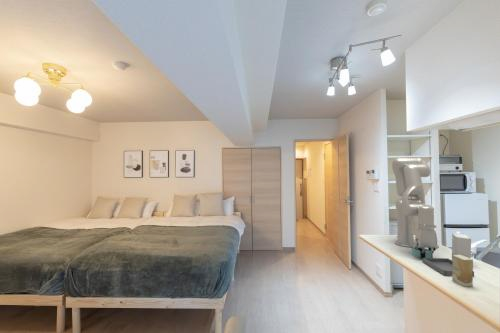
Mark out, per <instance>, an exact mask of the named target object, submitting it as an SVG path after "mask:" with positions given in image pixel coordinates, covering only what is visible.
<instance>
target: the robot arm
mask: <svg viewBox="0 0 500 333" xmlns="http://www.w3.org/2000/svg"><path fill="white" fill-rule="evenodd" d="M391 169H392V172H393V174H394V176H395V177H394V178H395V186H396V193H397V196H399V197H401V198H399V199H397V200H396V201H395V204H394V205H395V209H396V221H397V222H396V227H397V228H396V232H397V234H396V239H397V240H395V241H394V243H395V245H396V246H400V247H406V248H412V247H415V248H417V249H418V250H419V251H420V257H421V258H420V259H422V258H425V253H424V250H425V248H426V249H428V250H430V251H432V258H434V255H433V254H434V252H435V251H436V250H439V249H440V246H439V245H438V237H437V232H436V230H435V228H437V226H436V225H435V209H434V207H433V206H431V205H429V204H427V203H426V199H425V190H424V185H423V181H422V178H427V177H430V175H431V168H430V166H429V164H428V163H427V162H426V161H425V160H424V159H422V158H420V157H397V158H394V159H393V161H392V162H391ZM413 217H417V228H416V230H415V231H414V218H413ZM414 232H415V235H414ZM419 247H420V248H419Z"/></svg>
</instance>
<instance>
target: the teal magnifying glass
mask: <svg viewBox="0 0 500 333" xmlns="http://www.w3.org/2000/svg"><path fill="white" fill-rule="evenodd" d="M424 253H425V258H432V251H430V250H428V248H425V250H424ZM411 256H413V257H415V258H420V259H422V258H421V257H420V251H419V250H418V249H417V248H415V247H411Z"/></svg>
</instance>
